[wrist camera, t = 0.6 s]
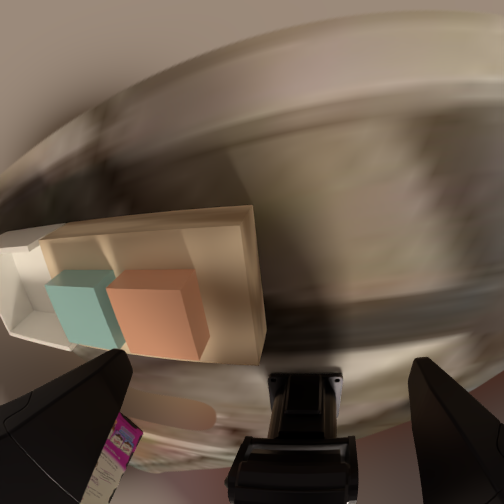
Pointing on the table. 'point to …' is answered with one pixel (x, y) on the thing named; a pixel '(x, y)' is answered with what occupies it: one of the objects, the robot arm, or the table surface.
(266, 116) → the table surface
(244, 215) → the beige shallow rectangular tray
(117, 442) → the candy bar box
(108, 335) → the mint green block
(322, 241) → the table surface
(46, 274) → the box
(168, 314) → the terracotta block
